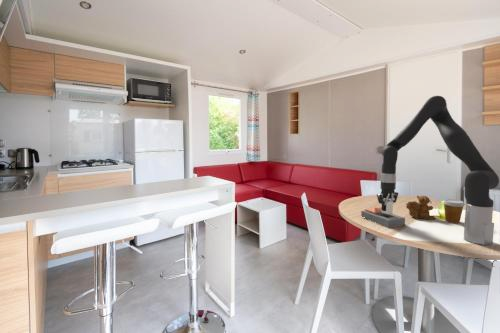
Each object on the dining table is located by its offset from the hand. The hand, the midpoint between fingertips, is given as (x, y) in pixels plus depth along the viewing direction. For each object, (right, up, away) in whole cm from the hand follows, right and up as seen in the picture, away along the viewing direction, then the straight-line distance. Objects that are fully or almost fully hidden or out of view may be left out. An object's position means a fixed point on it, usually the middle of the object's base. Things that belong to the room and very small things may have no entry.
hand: (387, 210), depth 144 cm
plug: (0, -2, 0) cm, 2 cm away
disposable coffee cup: (+37, -7, -1) cm, 38 cm away
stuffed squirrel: (+25, -6, +8) cm, 27 cm away
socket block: (-1, -7, +4) cm, 8 cm away
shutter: (-3, -2, +8) cm, 9 cm away
